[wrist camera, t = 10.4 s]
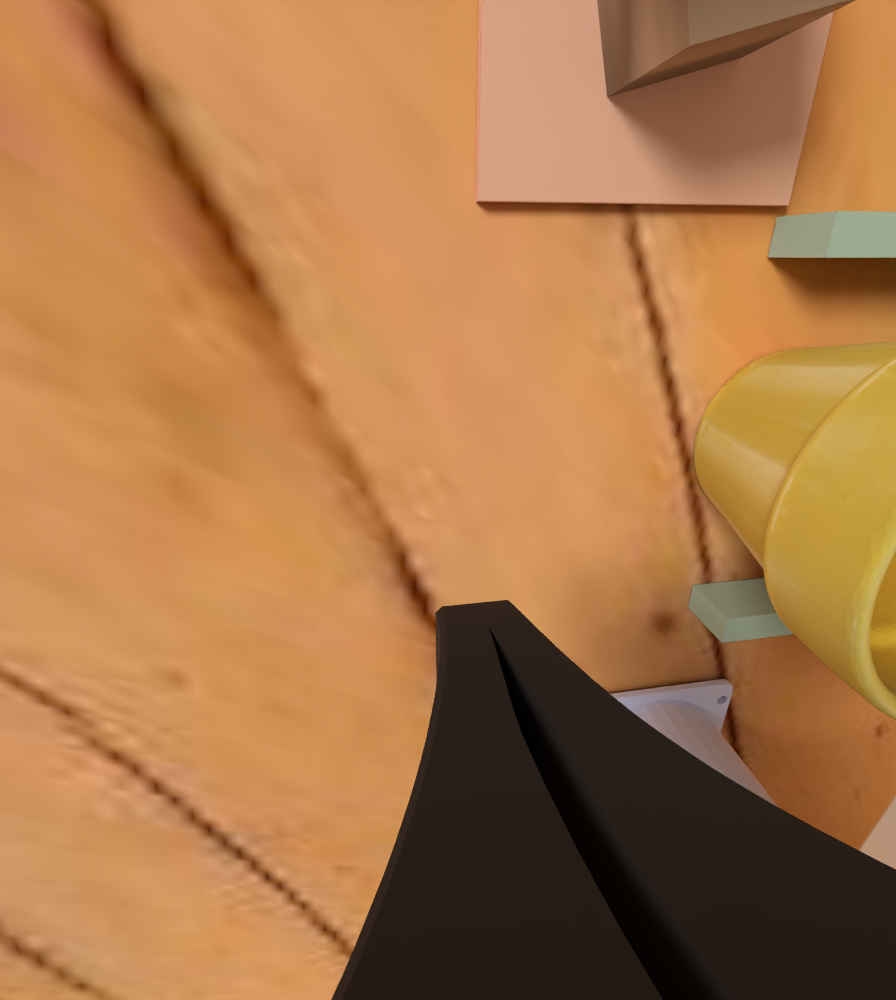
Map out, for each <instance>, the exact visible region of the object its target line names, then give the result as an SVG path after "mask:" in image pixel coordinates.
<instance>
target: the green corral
mask: <svg viewBox="0 0 896 1000" xmlns="http://www.w3.org/2000/svg"><path fill="white" fill-rule="evenodd" d="M768 257H772V258H895V257H896V212H864V211H834V212H824V213H813V214H802V215H791V216H781V217H777V219H776V224H775V228H774V232H773V237H772V241H771V246H770V250H769V254H768ZM688 608H689V609H690V610H691V611H692V613H693V614H694V615H695V616H696V617H697V618H698V619H699V620H700V621H701V622H702V623H703V624H704V625H705V626H706V627H707V628H708V629H709V630H710V631H711V632H712V633H713V634H714V635H715V637H716V638H717V639H718V640H719V641H720V642H721V643H726V642H734V641H742V640H751V639H759V638H767V637H775V636H784V635H792V634H793V633H792V632H791V631H790V630H789V629H788V628H787V627H786V626H785V624H784V623H783V622H782V620H781V619H780V617H779V616H778V614H777V613H776V611H775V609H774V607H773V605H772V603H771V600H770V597H769V595H768V592H767V588H766V583H765V578H758V579H748V580H739V581H729V582H719V583H709V584H699V585H693V588H692V592H691V597H690V601H689V605H688Z"/></svg>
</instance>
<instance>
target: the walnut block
mask: <svg viewBox="0 0 896 1000" xmlns="http://www.w3.org/2000/svg"><path fill="white" fill-rule="evenodd" d="M853 1H855V0H597V5H598V15H599V24H600V34H601V43H602V53H603V63H604V72H605V82H606V92H607V97H610V96H613V95H617V94H620V93H623V92H627V91H630V90H634V89H637V88H641V87H644V86H647V85H651V84H654V83H658V82H661V81H664V80H668V79H671V78H675V77H678V76H682V75H685V74H688V73H692V72H695V71H699V70H702V69H705V68H709V67H712V66H716V65H719V64H723V63H726V62H729V61H733V60H736V59H740V58H742V57H744V56H746V55H748V54H750V53H752V52H754V51H756V50H758V49H760V48H762V47H764V46H766V45H768V44H770V43H772V42H774V41H776V40H778V39H780V38H782V37H784V36H786V35H788V34H790V33H792V32H794V31H796V30H798V29H800V28H802V27H804V26H805V25H807V24H809V23H811V22H813V21H815V20H817V19H819V18H821V17H823V16H825V15H827V14H829V13H831V12H833V11H835V10H837V9H839V8H841V7H843V6H845V5H847V4H849V3H851V2H853Z"/></svg>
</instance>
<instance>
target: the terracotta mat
mask: <svg viewBox="0 0 896 1000" xmlns="http://www.w3.org/2000/svg"><path fill="white" fill-rule="evenodd" d="M833 14H834V11H833V12H831V13H829V14H827V15H825V16H823V17H821V18H819V19H817V20H815V21H813V22H811V23H809V24H807V25H805V26H804V27H802V28H800V29H798V30H796V31H794V32H792V33H790V34H788V35H786V36H784V37H782V38H780V39H778V40H776V41H774V42H772V43H770V44H768V45H766V46H764V47H762V48H760V49H758V50H756V51H754V52H752V53H750V54H748V55H746V56H744V57H742V58H740V59H736V60H733V61H729V62H726V63H723V64H719V65H716V66H712V67H709V68H705V69H702V70H699V71H695V72H692V73H688V74H685V75H682V76H678V77H675V78H671V79H668V80H664V81H661V82H658V83H654V84H651V85H647V86H644V87H641V88H637V89H634V90H630V91H627V92H623V93H620V94H617V95H613V96H610V97H607V92H606V82H605V72H604V63H603V53H602V43H601V34H600V24H599V15H598V5H597V0H479V40H478V96H477V152H476V202H512V203H583V204H653V205H724V206H786V205H789V202H790V197H791V193H792V189H793V184H794V180H795V176H796V172H797V167H798V163H799V159H800V155H801V150H802V146H803V142H804V137H805V133H806V129H807V125H808V120H809V116H810V112H811V108H812V103H813V99H814V95H815V90H816V86H817V82H818V78H819V73H820V69H821V65H822V61H823V56H824V52H825V48H826V43H827V39H828V35H829V31H830V26H831V22H832V18H833Z"/></svg>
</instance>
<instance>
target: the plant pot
mask: <svg viewBox="0 0 896 1000" xmlns="http://www.w3.org/2000/svg"><path fill="white" fill-rule="evenodd" d="M694 465H695V471H696V475H697V479H698V481H699V484H700V486H701V488H702V490H703V491H704V493H705V494H706V496H707V497H708V499H709V500H710V501H711V503H712V504H713V505H714V506H715V508H716V509H717V510H718V511H719V512H720V514H721V515H722V516H723V517H724V519H725V520H726V521H727V522H728V524H729V525H730V526H731V528H732V529H733V530H734V532H735V533H736V534H737V536H738V537H739V538H740V539H741V541H742V542H743V543H744V545H745V546H746V547H747V549H748V550H749V551H750V553H751V554H752V555H753V557H754V558H755V559H756V560H757V562H758V563H759V564H760V566H761V567H762V568H763V570H764V577H765V583H766V588H767V592H768V595H769V597H770V600H771V603H772V605H773V607H774V609H775V611H776V613H777V614H778V616H779V617H780V619H781V620H782V622H783V623H784V624H785V626H786V627H787V628H788V629H789V630H790V631H791V632H792V633H793V634H794V635H795V636H796V637H797V638H798V639H799V640H800V641H801V642H802V643H803V644H804V645H805V646H806V647H807V648H808V649H809V650H810V651H811V652H813V653H814V654H815V655H816V656H817V657H818V658H819V659H820V660H821V661H822V662H823V663H824V664H825V665H827V666H828V667H829V668H830V669H831V670H832V671H833V672H834V673H836V674H837V675H838V676H839V677H840V678H841V679H842V680H843V681H845V682H846V683H847V684H848V685H849V686H850V687H851V688H853V689H854V690H855V691H856V692H857V693H858V694H860V695H861V696H862V697H863V698H864V699H865V700H866V701H868V702H869V703H870V704H871V705H873V706H874V707H875V708H877V709H878V710H879V711H881V712H883V713H884V714H886V715H888V716H889V717H891V718H893V719H896V341H893V342H880V343H867V344H853V345H839V346H825V347H810V348H795V349H787V350H783V351H779V352H775V353H772V354H769V355H766V356H764V357H762V358H759V359H757V360H756V361H754V362H752V363H750V364H749V365H747V366H746V367H744V368H743V369H742V370H740V371H739V372H738V373H736V374H735V375H734V376H733V377H732V378H731V379H729V380H728V381H727V382H726V383H725V384H724V386H723V387H722V388H721V389H720V390H719V391H718V393H717V394H716V395H715V396H714V397H713V399H712V400H711V402H710V403H709V405H708V407H707V408H706V410H705V412H704V414H703V416H702V418H701V421H700V424H699V427H698V430H697V434H696V438H695V444H694Z"/></svg>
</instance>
